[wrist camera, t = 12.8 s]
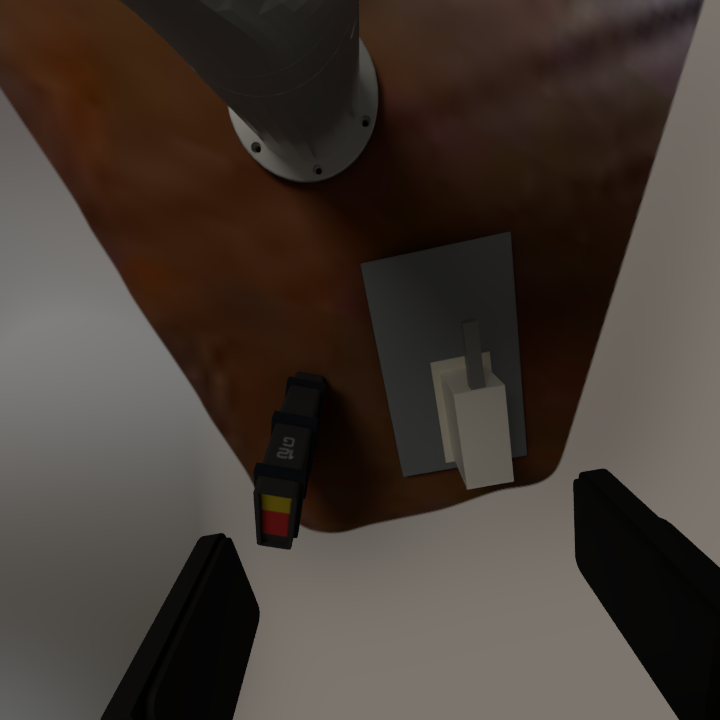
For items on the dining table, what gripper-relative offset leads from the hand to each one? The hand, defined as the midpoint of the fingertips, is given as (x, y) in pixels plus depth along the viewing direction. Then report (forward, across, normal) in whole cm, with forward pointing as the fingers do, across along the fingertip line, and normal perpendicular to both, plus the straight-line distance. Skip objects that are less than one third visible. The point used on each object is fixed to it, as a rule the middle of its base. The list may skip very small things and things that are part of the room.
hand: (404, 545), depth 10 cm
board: (+28, -7, +6) cm, 30 cm away
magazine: (+28, +10, +10) cm, 32 cm away
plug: (+27, -8, +8) cm, 29 cm away
